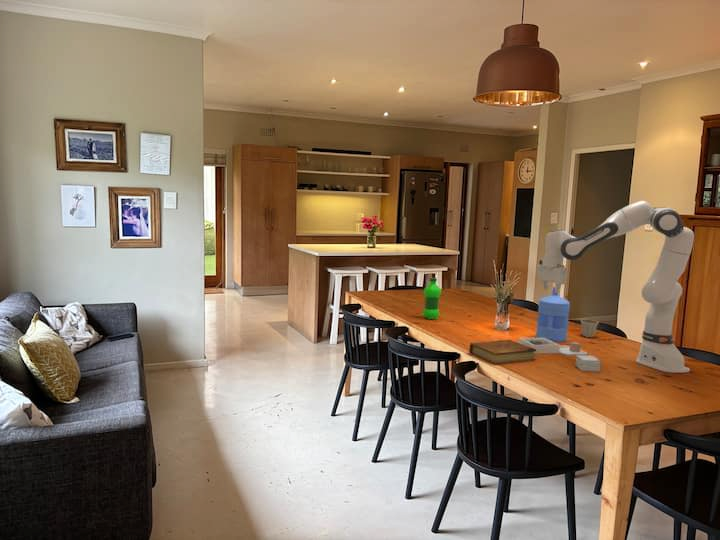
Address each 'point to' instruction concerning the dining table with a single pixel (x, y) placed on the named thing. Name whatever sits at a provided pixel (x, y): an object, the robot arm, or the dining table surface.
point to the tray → (566, 352)
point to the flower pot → (588, 327)
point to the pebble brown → (574, 347)
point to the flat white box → (541, 349)
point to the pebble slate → (543, 342)
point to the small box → (588, 363)
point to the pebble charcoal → (535, 342)
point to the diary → (502, 351)
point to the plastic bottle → (431, 299)
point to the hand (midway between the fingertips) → (550, 290)
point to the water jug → (553, 318)
